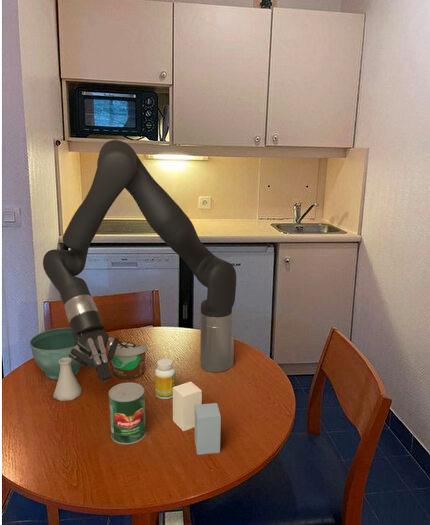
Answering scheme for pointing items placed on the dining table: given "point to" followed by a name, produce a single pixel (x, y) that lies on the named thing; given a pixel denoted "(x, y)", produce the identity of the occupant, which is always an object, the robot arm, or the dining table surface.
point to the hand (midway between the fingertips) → (106, 380)
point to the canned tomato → (127, 413)
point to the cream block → (185, 404)
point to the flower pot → (54, 351)
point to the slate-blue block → (207, 428)
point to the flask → (66, 382)
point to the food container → (128, 360)
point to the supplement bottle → (164, 379)
